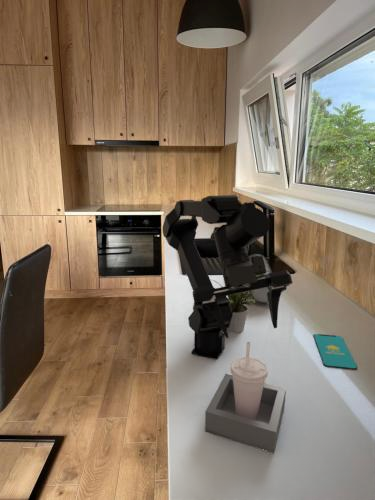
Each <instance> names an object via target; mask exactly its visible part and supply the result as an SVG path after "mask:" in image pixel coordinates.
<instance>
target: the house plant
mask: <svg viewBox="0 0 375 500" xmlns="http://www.w3.org/2000/svg"><path fill="white" fill-rule="evenodd" d="M256 276H260V275H256ZM212 281H213V282H215V283H216V284H218V285H220V288H221V287H223V286H222V285H221V284H220V283H219V282H218V281H216V280H213V279H212ZM245 285H247V286H248V284H245ZM245 285H243V286H245ZM236 287H237V286H236ZM231 288H235V287H231ZM231 291H233V290H231ZM255 291H258V290H255ZM255 291H252V292H249V291H247V292H242V293H238V294H233V295H228V296H227V299H228V300H229V302H230V303H229V304H230V305H231V307H232V311H233V315H232V319H231V322H230V326H229V328H226V329H227V332H229V333H233V334H238V333H242V332H243V331H244V329H245V325H246V320H247V316H248V312H249V306H251V307H252V308H253V304H252V303H251V302H253V303H254V304H255V303H256V300H255V299H253V298H252V297H251V294H252V293H254V292H255ZM250 297H251V298H250ZM247 305H248V306H247Z"/></svg>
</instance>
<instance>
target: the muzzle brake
mask: <svg viewBox="0 0 375 500" xmlns="http://www.w3.org/2000/svg"><path fill="white" fill-rule="evenodd" d="M259 255H261V254H259V253H253V254H250V255H248V257H249V260H250V261H251V257H254V256H259ZM262 256H263V259H264V263H265V267H266V273H265V274H260V276H257V280H259V279H264V278H265V276H266V275H267V274H268V273H273V272H272V270H271V269H272V268H271V267H270V265H269V262H268V260H267V257H265V256H264V255H262ZM248 286H251V284H248ZM257 290H258V291H255V290H252V291H255V292H254V293H252V294H251V295H250V297H251V298H252V299H254V300H255V301H257V302H259V303H264V304H265V303H268V298H267V292H269V289H268V288H262V289H257ZM252 291H249V292H252Z"/></svg>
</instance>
